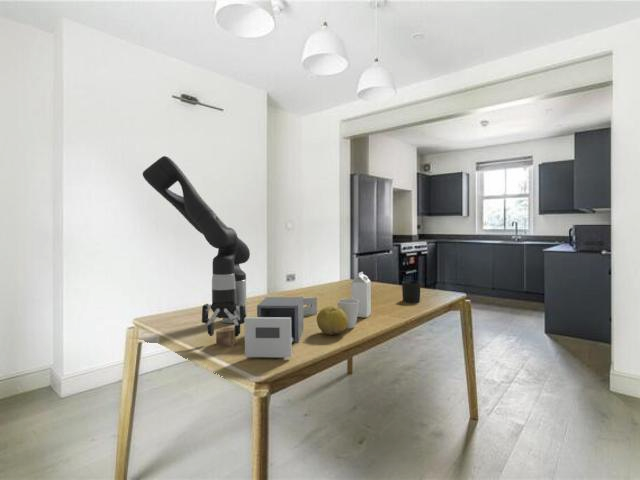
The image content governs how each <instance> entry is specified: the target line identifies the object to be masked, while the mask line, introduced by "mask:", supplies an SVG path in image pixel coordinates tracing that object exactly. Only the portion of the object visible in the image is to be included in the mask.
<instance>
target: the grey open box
mask: <svg viewBox="0 0 640 480" xmlns="http://www.w3.org/2000/svg"><path fill="white" fill-rule="evenodd" d="M303 298H304V297H303V296H270V297H269V296H266V297H265V298H264V299H262V300H261V302H260V303H258V304H257V306H256V317H291V337H293V341H292V343H299V342H300V340H301V337H302V334H303V331H304V316H303V307H304V305H303Z"/></svg>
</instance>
